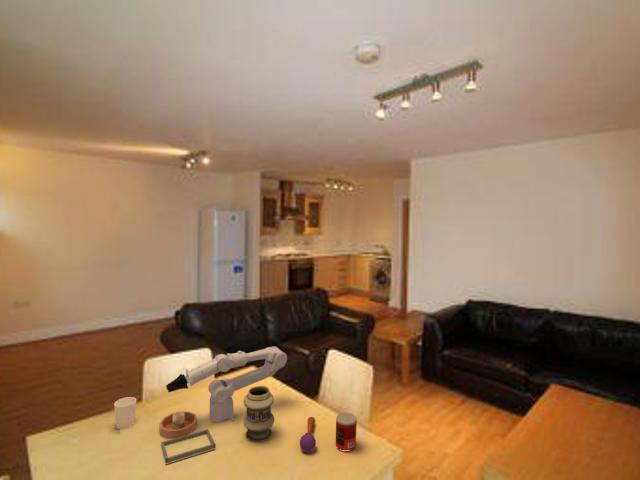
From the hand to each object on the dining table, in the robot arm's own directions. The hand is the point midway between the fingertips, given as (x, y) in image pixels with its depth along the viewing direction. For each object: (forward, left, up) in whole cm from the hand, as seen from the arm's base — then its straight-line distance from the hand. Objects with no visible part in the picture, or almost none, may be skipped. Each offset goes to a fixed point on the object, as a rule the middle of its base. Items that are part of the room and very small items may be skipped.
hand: (167, 389), depth 141 cm
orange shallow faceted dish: (-4, 0, -18) cm, 19 cm away
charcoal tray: (-5, +14, -18) cm, 23 cm away
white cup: (+14, -14, -18) cm, 27 cm away
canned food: (-57, +41, -18) cm, 73 cm away
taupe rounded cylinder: (-4, 0, -17) cm, 18 cm away
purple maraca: (-47, +30, -19) cm, 59 cm away
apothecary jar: (-31, +18, -18) cm, 40 cm away
